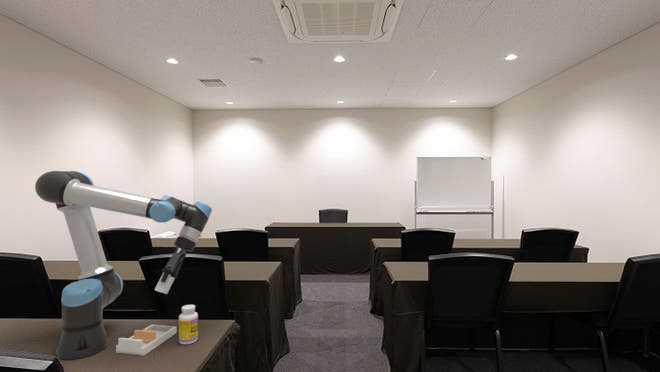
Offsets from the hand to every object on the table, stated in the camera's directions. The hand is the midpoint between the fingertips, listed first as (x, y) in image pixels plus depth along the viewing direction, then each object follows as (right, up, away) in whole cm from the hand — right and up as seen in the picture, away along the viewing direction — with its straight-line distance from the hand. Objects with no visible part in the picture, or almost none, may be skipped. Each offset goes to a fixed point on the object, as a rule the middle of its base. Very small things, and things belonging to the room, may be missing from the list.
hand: (160, 292), depth 129 cm
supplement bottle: (+10, -19, +1) cm, 21 cm away
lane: (-4, -18, -1) cm, 19 cm away
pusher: (-5, -18, -2) cm, 18 cm away
